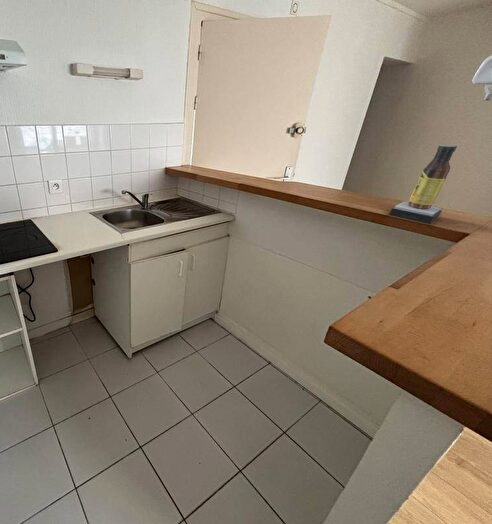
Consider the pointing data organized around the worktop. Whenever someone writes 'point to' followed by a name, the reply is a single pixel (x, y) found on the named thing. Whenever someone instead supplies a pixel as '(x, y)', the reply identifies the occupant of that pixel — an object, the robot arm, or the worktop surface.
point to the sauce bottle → (432, 178)
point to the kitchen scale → (415, 213)
